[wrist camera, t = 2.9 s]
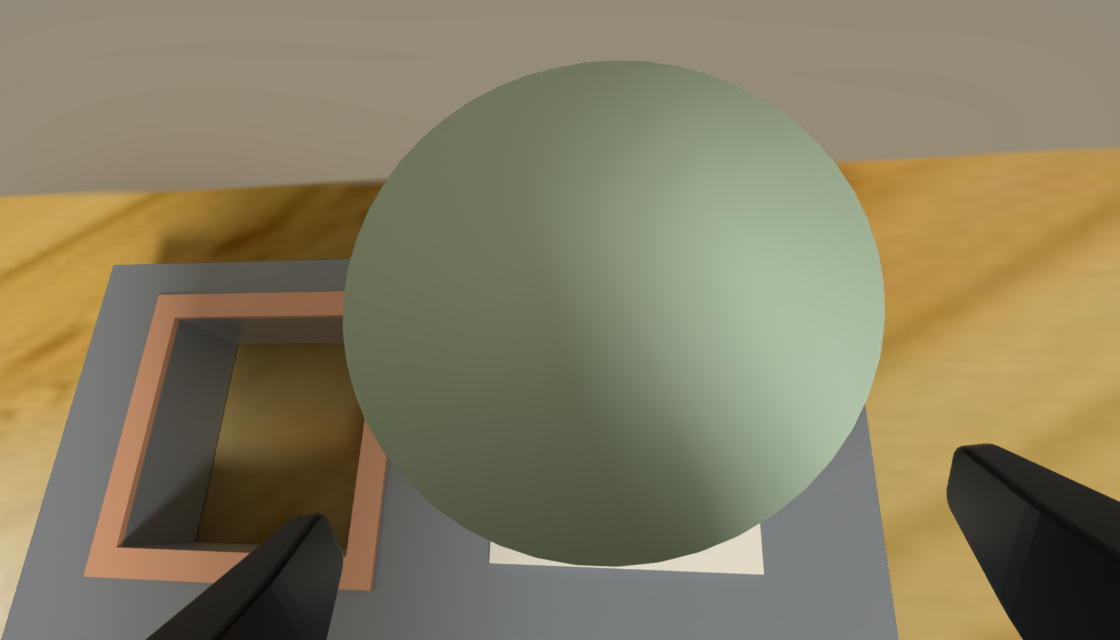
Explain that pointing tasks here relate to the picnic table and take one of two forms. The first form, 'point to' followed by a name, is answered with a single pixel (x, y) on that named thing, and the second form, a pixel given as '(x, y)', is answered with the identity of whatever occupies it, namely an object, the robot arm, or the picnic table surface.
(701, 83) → the post
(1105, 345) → the picnic table surface
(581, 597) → the slotted grey base
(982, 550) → the robot arm
